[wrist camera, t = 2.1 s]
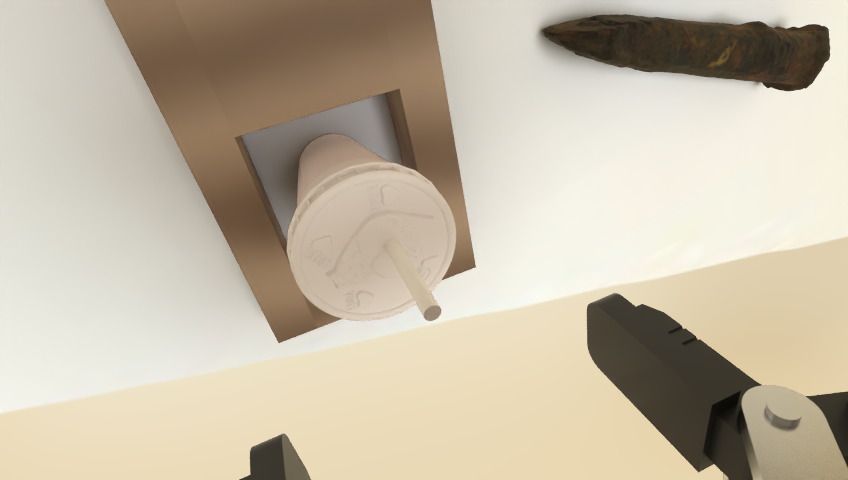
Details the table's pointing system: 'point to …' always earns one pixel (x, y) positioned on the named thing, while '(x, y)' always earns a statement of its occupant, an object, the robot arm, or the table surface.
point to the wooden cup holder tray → (289, 108)
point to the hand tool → (700, 48)
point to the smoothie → (367, 233)
